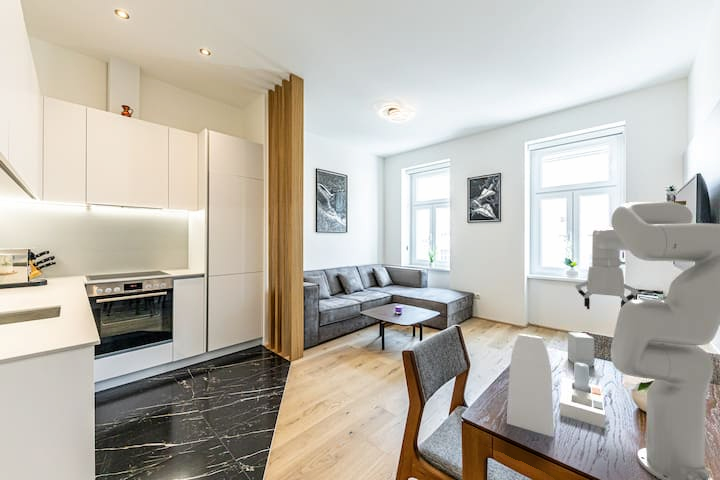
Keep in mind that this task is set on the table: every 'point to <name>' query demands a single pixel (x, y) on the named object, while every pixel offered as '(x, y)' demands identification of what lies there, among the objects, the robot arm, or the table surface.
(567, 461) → the table surface
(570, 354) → the supplement box
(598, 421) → the socket block
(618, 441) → the table surface
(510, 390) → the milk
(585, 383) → the plug
